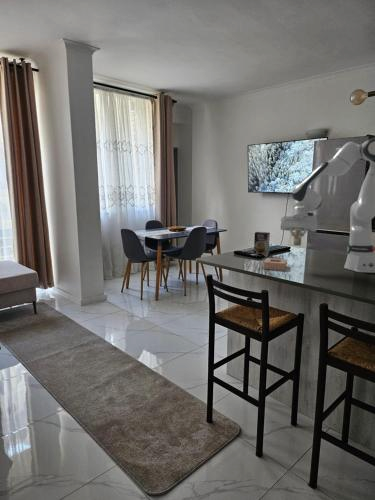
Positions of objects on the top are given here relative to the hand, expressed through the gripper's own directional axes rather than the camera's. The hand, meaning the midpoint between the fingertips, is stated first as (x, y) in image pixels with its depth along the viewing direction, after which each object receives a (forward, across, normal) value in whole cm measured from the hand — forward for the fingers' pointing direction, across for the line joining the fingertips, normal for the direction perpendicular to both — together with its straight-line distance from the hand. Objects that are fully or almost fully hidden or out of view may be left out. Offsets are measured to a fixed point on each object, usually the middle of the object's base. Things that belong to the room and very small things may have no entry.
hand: (297, 235), depth 195 cm
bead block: (+14, -12, +13) cm, 23 cm away
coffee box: (-8, -25, +36) cm, 44 cm away
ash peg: (+3, 0, +4) cm, 5 cm away
